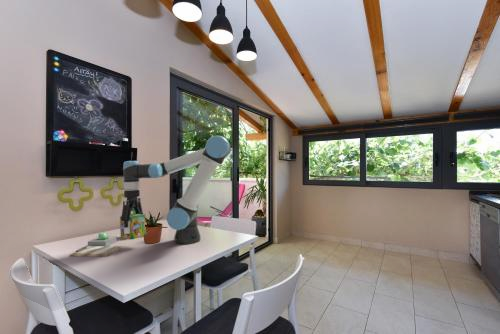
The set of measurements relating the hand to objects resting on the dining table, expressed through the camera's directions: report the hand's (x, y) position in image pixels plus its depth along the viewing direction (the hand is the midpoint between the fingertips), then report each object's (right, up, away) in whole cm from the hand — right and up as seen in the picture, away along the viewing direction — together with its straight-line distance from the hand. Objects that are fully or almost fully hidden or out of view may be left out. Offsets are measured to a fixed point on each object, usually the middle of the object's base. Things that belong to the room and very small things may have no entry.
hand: (133, 230), depth 133 cm
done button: (-20, -7, +7) cm, 23 cm away
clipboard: (-16, -9, -6) cm, 19 cm away
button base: (-20, -9, +7) cm, 23 cm away
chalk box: (0, -4, 0) cm, 4 cm away
